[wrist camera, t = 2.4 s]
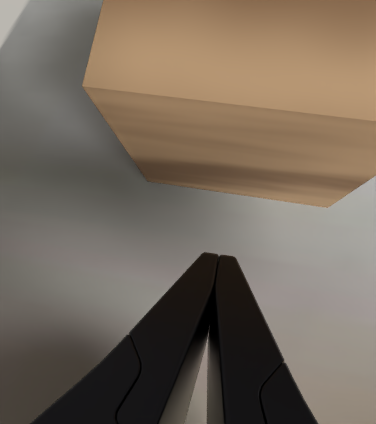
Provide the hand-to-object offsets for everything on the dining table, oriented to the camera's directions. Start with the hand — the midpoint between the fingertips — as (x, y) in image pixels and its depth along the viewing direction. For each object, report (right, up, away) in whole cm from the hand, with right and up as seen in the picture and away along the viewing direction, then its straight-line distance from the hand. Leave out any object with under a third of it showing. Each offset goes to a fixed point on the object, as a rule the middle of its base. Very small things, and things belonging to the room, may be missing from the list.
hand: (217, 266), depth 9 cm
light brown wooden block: (+2, +5, +11) cm, 12 cm away
